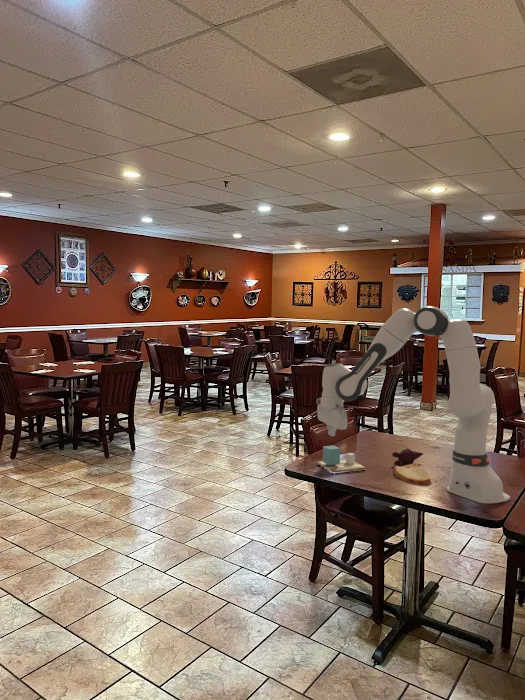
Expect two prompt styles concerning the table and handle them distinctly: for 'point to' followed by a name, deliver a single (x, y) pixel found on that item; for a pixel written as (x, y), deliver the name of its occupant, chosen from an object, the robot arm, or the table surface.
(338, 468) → the board
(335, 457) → the teal rectangular block
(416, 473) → the bread slice
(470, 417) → the robot arm
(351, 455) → the short post
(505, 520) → the table surface
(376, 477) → the table surface
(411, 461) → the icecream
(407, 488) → the table surface
